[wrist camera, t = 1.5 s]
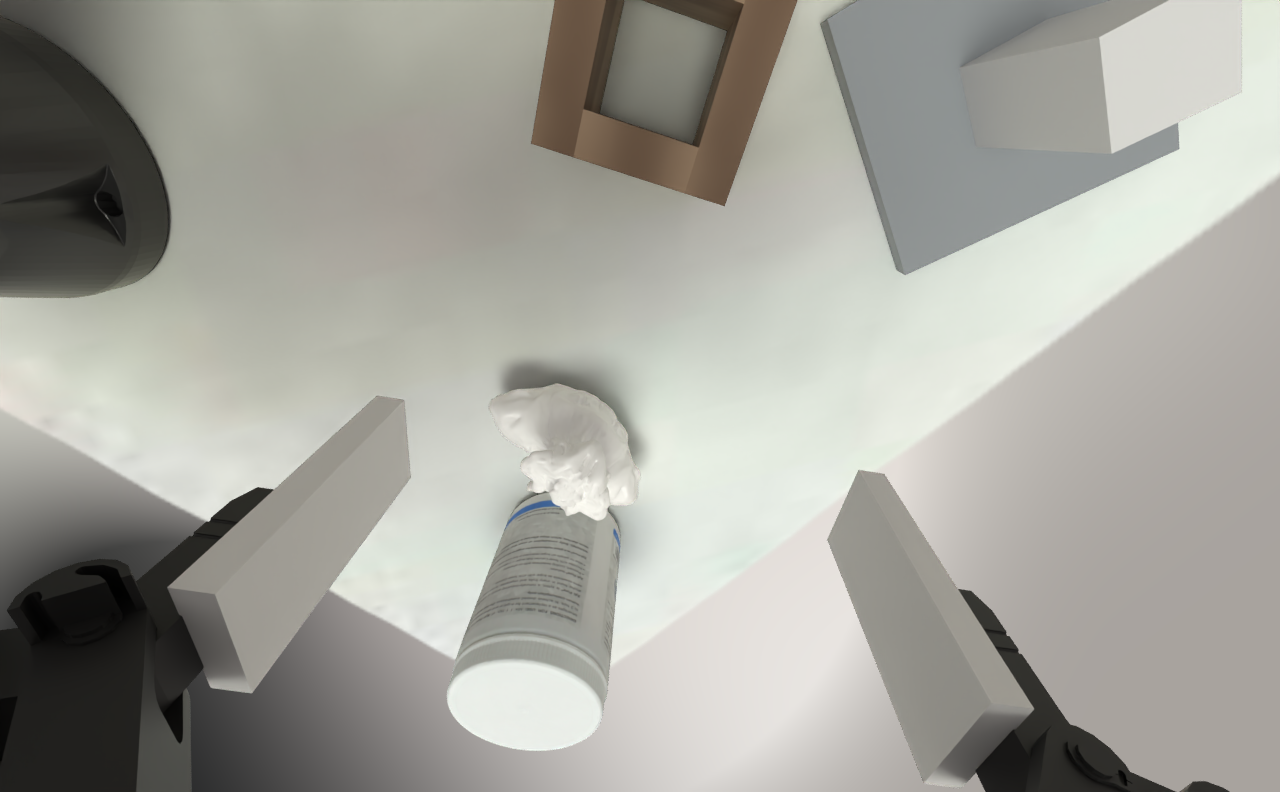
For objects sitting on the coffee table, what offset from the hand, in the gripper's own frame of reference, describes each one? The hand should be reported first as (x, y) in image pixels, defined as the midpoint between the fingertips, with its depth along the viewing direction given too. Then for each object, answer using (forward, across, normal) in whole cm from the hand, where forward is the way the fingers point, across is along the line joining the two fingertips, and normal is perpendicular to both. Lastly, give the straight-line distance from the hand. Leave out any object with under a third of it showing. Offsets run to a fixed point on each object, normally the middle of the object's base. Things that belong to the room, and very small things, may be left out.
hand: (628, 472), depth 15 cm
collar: (+20, -1, +12) cm, 23 cm away
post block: (+20, +16, +13) cm, 29 cm away
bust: (+20, -3, -10) cm, 22 cm away
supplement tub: (+20, -4, -22) cm, 30 cm away
